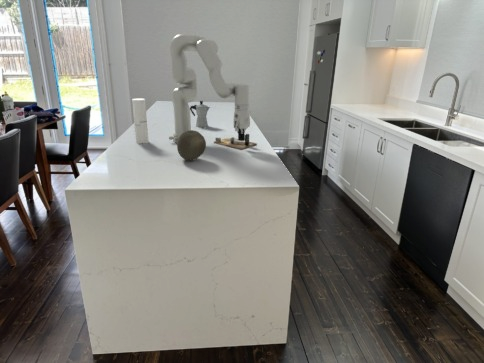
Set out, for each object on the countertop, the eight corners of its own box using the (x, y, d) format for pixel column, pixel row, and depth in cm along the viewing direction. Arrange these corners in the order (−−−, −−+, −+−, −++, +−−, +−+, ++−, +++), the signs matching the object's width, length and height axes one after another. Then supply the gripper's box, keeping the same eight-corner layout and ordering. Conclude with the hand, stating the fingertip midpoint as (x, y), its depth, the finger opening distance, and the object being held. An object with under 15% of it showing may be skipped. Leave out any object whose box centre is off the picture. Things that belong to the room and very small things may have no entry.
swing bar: (229, 143, 200) (229, 133, 197) (231, 141, 202) (231, 132, 200) (248, 145, 196) (248, 135, 194) (249, 144, 199) (250, 134, 196)
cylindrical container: (149, 142, 201) (145, 100, 192) (136, 143, 198) (132, 100, 189) (147, 140, 207) (144, 98, 198) (135, 140, 204) (131, 98, 195)
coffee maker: (211, 125, 249) (211, 100, 243) (209, 127, 241) (209, 102, 234) (191, 124, 250) (190, 99, 244) (188, 127, 242) (187, 101, 236)
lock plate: (240, 149, 191) (240, 144, 190) (213, 142, 204) (213, 137, 202) (256, 144, 202) (256, 139, 201) (230, 138, 214) (230, 133, 213)
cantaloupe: (179, 165, 164) (177, 135, 159) (176, 156, 177) (175, 128, 172) (208, 163, 168) (207, 133, 163) (203, 155, 181) (202, 127, 175)
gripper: (239, 109, 177) (238, 144, 184) (254, 106, 189) (254, 138, 196) (227, 108, 181) (227, 141, 188) (243, 105, 193) (243, 136, 200)
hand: (241, 140), depth 192 cm, fingers closed
